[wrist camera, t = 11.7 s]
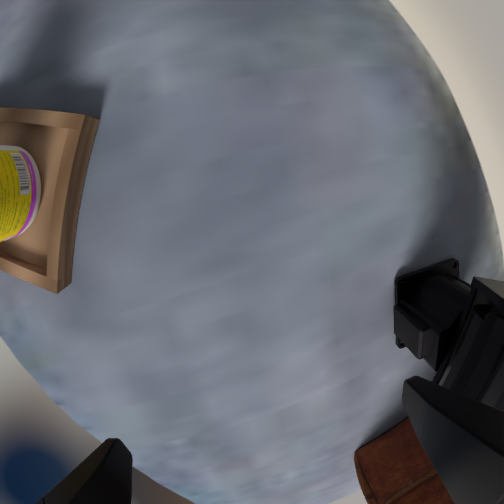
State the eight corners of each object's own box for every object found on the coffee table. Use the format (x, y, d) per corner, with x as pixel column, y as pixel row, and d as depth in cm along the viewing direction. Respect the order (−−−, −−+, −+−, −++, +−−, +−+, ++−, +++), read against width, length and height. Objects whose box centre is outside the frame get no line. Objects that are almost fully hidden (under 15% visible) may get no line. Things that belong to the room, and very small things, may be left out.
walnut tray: (99, 119, 17) (85, 114, 14) (70, 283, 19) (56, 294, 17) (-6, 109, 15) (-22, 106, 13) (-24, 243, 18) (-40, 249, 16)
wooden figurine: (364, 468, 27) (407, 578, 10) (344, 452, 26) (391, 583, 8) (444, 415, 26) (513, 513, 9) (435, 391, 25) (520, 505, 7)
